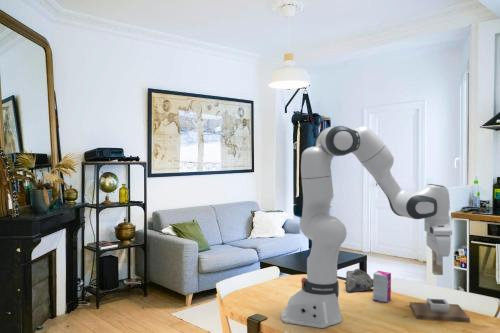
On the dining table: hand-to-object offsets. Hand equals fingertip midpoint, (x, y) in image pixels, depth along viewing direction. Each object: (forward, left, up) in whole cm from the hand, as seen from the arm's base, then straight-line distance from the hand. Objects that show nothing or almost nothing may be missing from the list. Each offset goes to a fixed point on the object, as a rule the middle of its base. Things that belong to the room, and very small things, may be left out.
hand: (437, 263), depth 156 cm
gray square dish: (0, 0, -18) cm, 18 cm away
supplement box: (-19, +12, -19) cm, 30 cm away
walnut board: (0, 0, -19) cm, 19 cm away
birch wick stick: (0, 0, -4) cm, 4 cm away
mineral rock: (-27, +23, -20) cm, 40 cm away
